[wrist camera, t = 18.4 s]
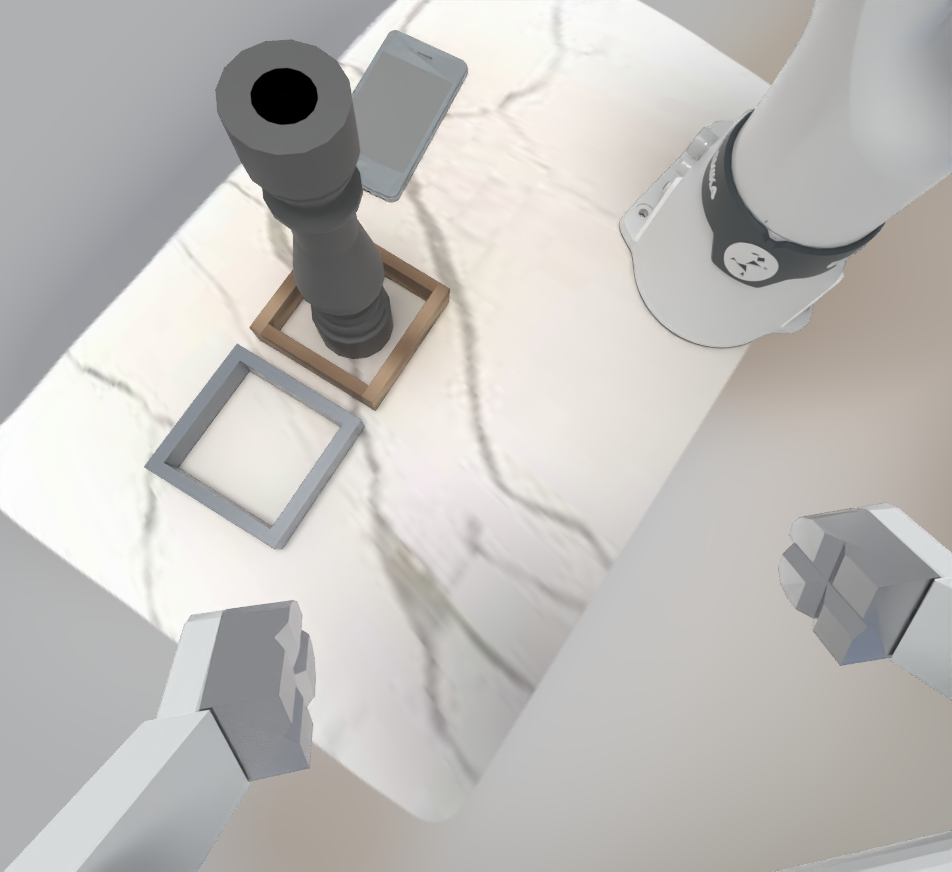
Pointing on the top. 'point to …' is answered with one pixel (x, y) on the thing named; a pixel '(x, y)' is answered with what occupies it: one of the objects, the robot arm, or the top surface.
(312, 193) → the candle holder
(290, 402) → the top surface
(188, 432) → the charcoal frame
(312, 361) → the walnut frame
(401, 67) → the phone
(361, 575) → the top surface
